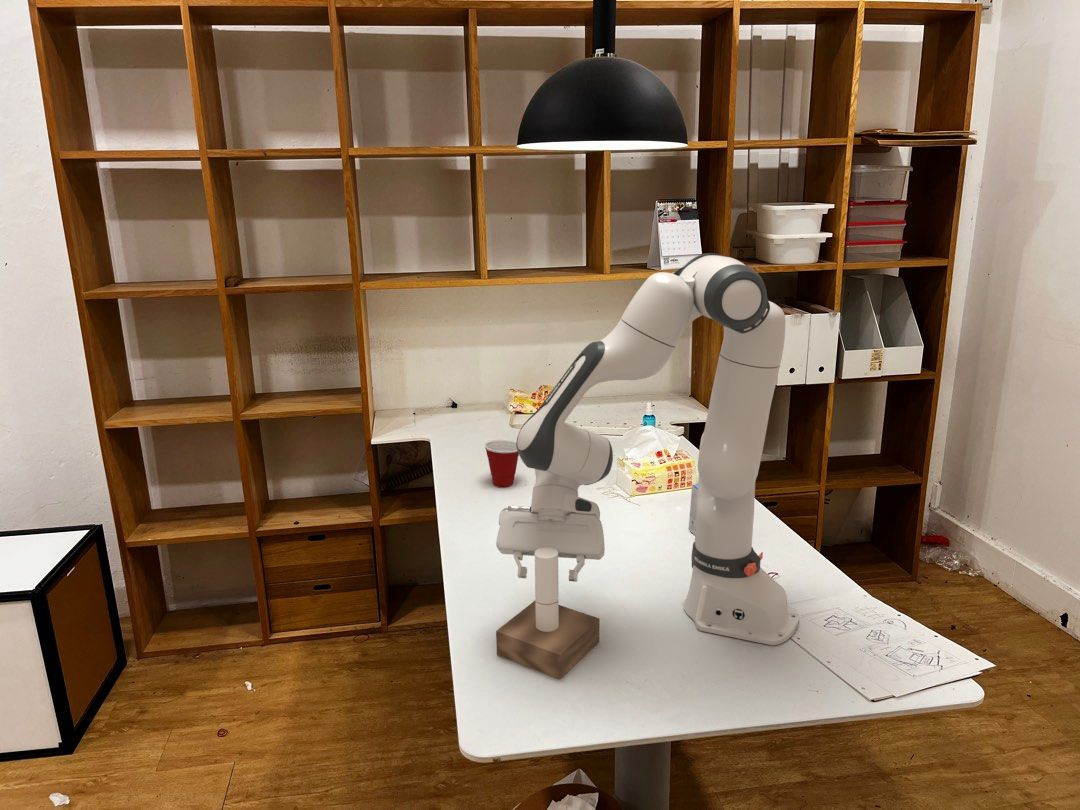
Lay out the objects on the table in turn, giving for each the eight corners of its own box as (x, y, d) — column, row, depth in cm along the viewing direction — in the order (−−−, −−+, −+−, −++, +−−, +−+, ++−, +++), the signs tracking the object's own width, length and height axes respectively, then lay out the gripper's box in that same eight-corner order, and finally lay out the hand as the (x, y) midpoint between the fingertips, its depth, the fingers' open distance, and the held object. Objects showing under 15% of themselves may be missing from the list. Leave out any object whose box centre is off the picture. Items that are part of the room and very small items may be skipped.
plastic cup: (528, 487, 226) (527, 447, 223) (491, 493, 223) (490, 452, 219) (516, 474, 236) (515, 436, 233) (480, 479, 233) (479, 440, 229)
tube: (548, 634, 147) (547, 560, 143) (531, 626, 150) (529, 553, 146) (563, 624, 150) (562, 552, 146) (545, 616, 153) (545, 545, 149)
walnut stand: (599, 641, 154) (599, 618, 152) (560, 679, 142) (559, 655, 141) (538, 619, 161) (538, 597, 160) (496, 654, 150) (496, 631, 148)
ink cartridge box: (727, 544, 192) (730, 487, 188) (706, 547, 190) (709, 490, 186) (708, 526, 201) (711, 472, 197) (687, 529, 200) (690, 475, 195)
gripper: (497, 499, 152) (488, 570, 146) (606, 504, 149) (601, 577, 143) (503, 511, 158) (494, 580, 151) (607, 516, 155) (603, 587, 148)
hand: (547, 579), depth 147 cm, fingers open, 8 cm apart
